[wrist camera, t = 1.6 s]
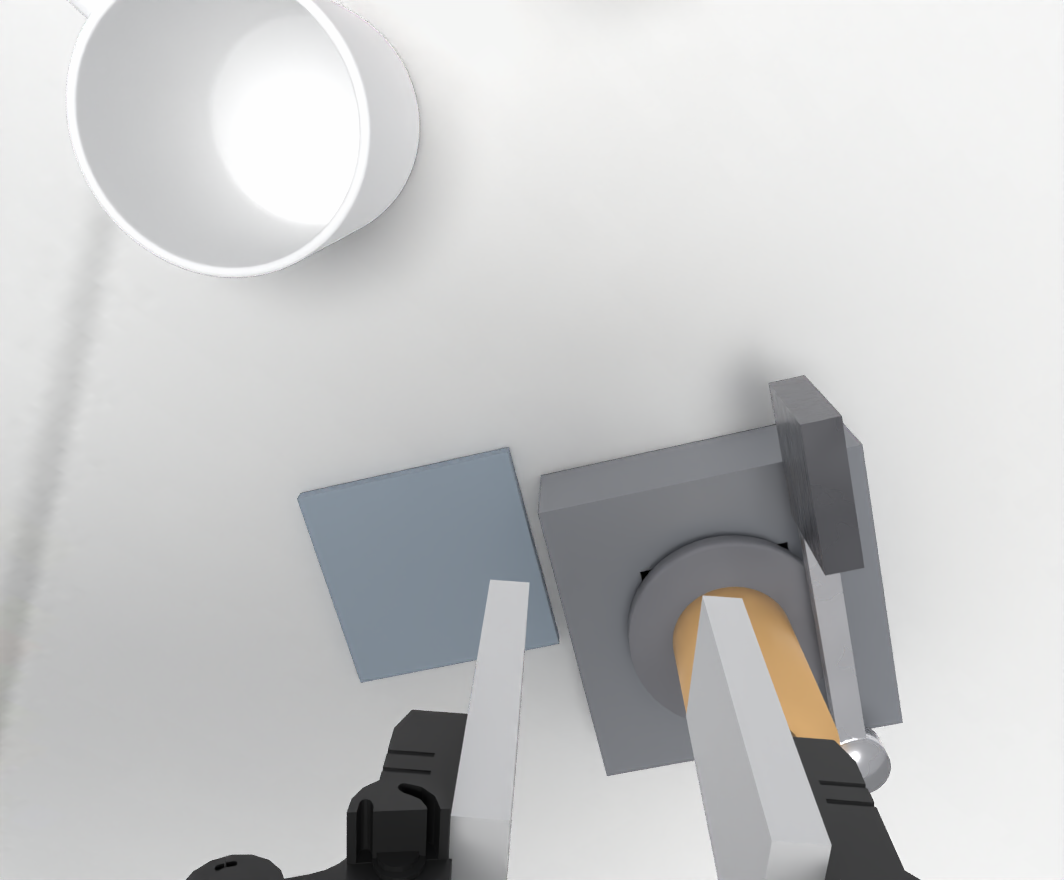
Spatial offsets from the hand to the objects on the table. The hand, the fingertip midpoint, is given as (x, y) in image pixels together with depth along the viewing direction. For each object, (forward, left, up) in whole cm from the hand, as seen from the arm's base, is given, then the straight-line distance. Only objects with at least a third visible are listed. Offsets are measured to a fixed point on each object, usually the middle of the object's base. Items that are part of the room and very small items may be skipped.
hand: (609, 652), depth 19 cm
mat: (-8, -7, -21) cm, 23 cm away
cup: (-9, +13, -21) cm, 26 cm away
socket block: (+3, -10, -21) cm, 23 cm away
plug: (+3, -10, -21) cm, 23 cm away
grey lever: (+7, -8, -15) cm, 18 cm away
